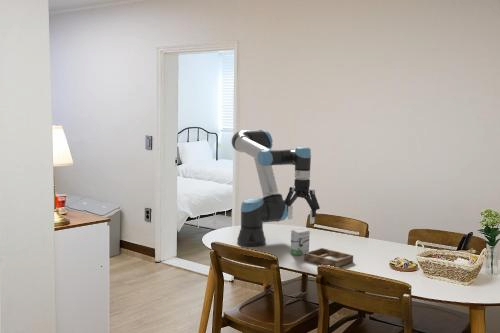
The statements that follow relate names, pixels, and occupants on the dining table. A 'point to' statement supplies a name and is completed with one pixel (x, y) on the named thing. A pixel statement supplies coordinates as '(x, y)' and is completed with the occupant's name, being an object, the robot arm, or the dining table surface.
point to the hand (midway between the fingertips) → (300, 221)
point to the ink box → (299, 241)
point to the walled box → (328, 257)
